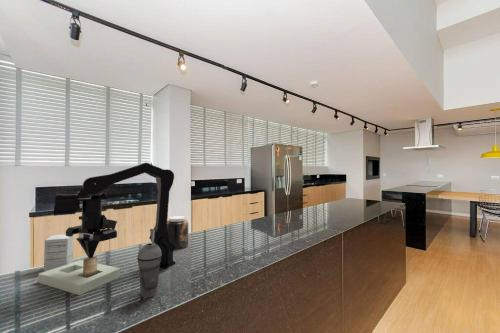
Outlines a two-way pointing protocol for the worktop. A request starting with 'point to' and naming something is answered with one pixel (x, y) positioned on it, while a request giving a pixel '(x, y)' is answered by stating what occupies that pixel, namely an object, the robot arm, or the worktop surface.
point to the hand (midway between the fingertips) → (90, 257)
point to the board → (77, 277)
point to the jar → (178, 231)
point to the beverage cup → (149, 268)
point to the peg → (89, 267)
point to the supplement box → (58, 251)
